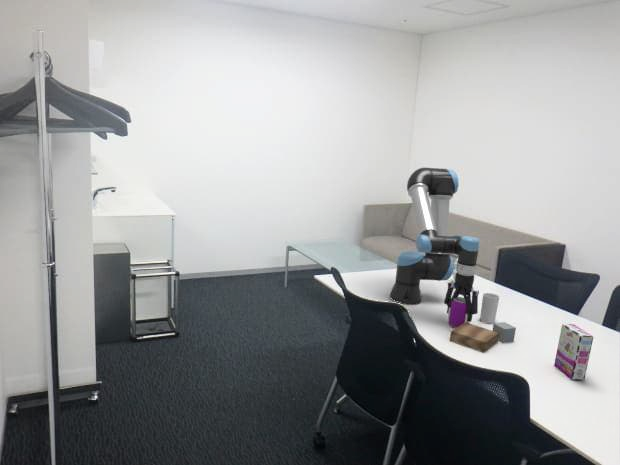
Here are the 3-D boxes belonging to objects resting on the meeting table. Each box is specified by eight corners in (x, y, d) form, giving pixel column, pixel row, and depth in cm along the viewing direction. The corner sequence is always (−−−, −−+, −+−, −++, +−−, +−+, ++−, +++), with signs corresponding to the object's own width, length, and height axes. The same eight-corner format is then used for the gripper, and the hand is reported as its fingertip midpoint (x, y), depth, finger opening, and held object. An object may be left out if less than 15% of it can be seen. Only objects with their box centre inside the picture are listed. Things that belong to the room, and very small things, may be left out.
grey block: (491, 337, 201) (493, 323, 199) (502, 335, 203) (504, 322, 202) (502, 343, 195) (504, 329, 194) (513, 341, 198) (515, 327, 197)
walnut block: (449, 340, 194) (451, 330, 193) (464, 331, 204) (465, 322, 204) (484, 352, 185) (485, 342, 184) (497, 342, 196) (499, 332, 195)
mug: (497, 324, 215) (501, 298, 213) (481, 323, 215) (486, 297, 213) (490, 316, 225) (494, 291, 222) (475, 314, 225) (479, 289, 223)
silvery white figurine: (444, 280, 277) (448, 249, 274) (461, 281, 278) (466, 250, 274) (455, 291, 258) (460, 258, 254) (474, 292, 258) (479, 260, 255)
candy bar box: (585, 380, 169) (594, 336, 165) (571, 380, 168) (580, 336, 165) (566, 365, 179) (574, 323, 176) (553, 365, 179) (561, 323, 176)
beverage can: (468, 325, 212) (471, 298, 209) (465, 331, 205) (469, 304, 202) (449, 321, 215) (453, 295, 212) (447, 326, 208) (450, 300, 205)
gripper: (439, 268, 210) (432, 318, 215) (482, 281, 195) (473, 335, 199) (449, 266, 215) (443, 315, 220) (492, 279, 199) (484, 331, 204)
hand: (457, 324), depth 209 cm, fingers closed on beverage can, 8 cm apart
